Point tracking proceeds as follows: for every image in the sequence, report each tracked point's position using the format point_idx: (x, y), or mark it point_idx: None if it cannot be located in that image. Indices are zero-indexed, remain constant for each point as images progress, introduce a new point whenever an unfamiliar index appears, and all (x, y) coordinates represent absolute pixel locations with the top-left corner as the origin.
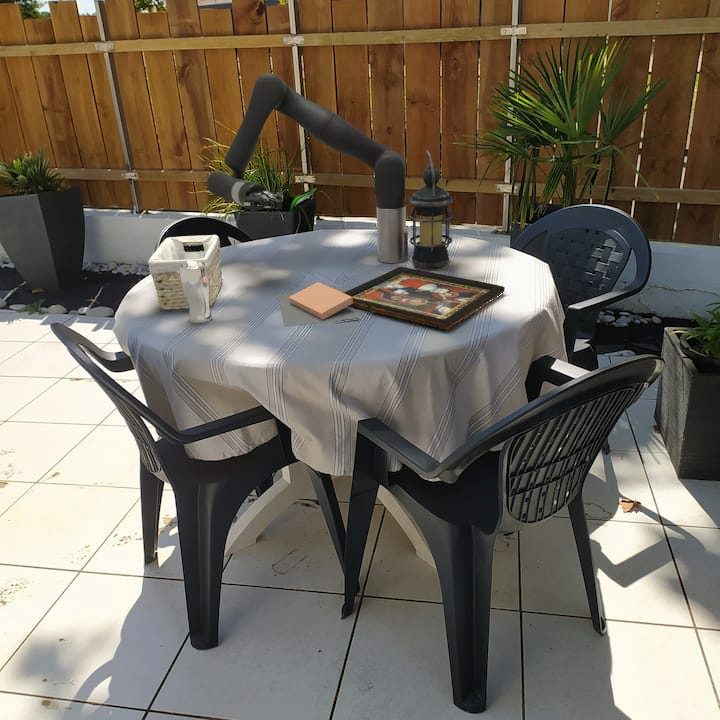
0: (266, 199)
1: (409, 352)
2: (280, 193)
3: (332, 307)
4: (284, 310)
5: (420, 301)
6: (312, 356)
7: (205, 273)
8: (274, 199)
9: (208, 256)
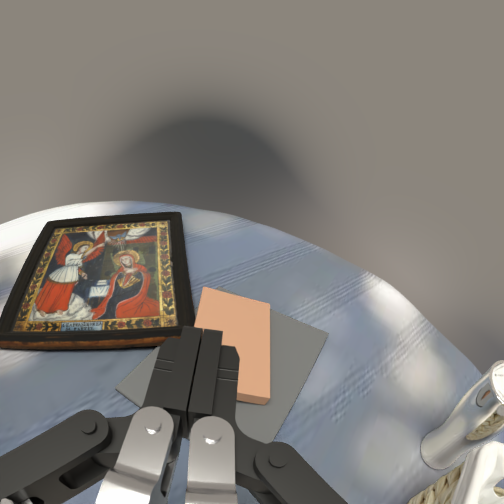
0: (233, 439)
1: (243, 223)
2: (9, 461)
3: (246, 298)
4: (295, 384)
5: (124, 256)
6: (331, 266)
7: (479, 379)
8: (187, 382)
9: (476, 467)
